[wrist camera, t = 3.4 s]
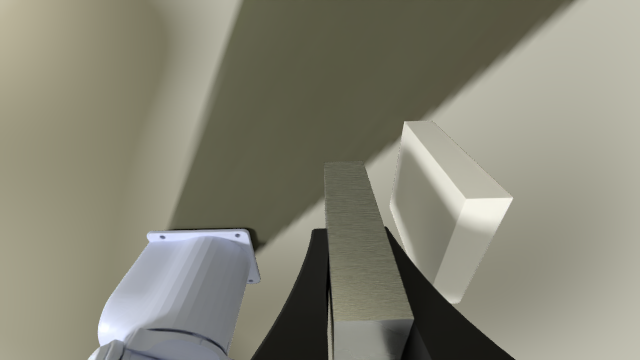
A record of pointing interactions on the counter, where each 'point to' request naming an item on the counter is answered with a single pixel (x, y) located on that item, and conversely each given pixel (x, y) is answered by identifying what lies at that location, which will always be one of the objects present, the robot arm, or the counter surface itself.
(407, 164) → the tile
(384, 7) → the counter surface
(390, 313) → the pale grey upright block
